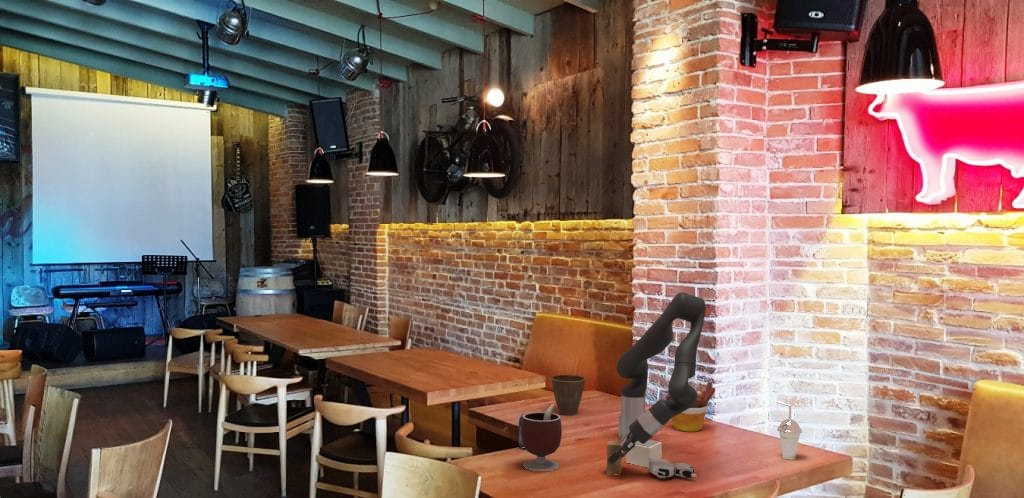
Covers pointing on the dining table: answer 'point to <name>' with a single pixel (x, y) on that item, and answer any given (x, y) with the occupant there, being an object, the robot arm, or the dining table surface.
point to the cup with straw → (789, 436)
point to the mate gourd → (541, 438)
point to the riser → (644, 453)
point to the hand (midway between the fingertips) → (610, 458)
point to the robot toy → (670, 469)
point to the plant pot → (568, 392)
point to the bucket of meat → (693, 412)
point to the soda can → (520, 431)
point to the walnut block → (611, 449)
